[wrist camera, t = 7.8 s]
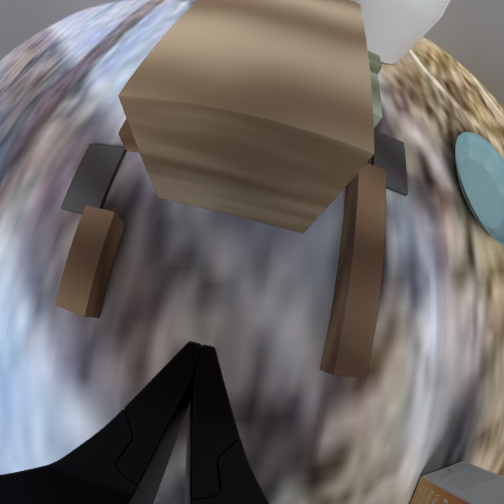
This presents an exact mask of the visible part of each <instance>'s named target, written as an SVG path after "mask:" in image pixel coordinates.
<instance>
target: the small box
mask: <svg viewBox="0 0 504 504" xmlns="http://www.w3.org/2000/svg"><path fill="white" fill-rule="evenodd" d="M410 504H504V476H501V475H498V474H495V473H492V472H490V471H487V470H485V469H482V468H479V467H477V466H474V465H472V464H469V463H467V462H464V461H461V462H458V463H456V464H453V465H451V466H448V467H446V468H443V469H440V470H437V471H435V472H432V473H429V474H426V475H422V476H421V477H420V480H419V483H418V485H417V488H416V491H415V493H414V496H413V498H412V500H411V502H410Z"/></svg>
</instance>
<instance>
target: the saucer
mask: <svg viewBox="0 0 504 504" xmlns="http://www.w3.org/2000/svg"><path fill="white" fill-rule="evenodd" d="M455 162H456V170H457V176H458V180H459V184H460V187H461V190H462V193H463V196H464V198H465V201H466V203H467V205H468V207H469V209H470V211H471V212H472V214H473V216H474V217H475V219H476V220H477V221H478V223H479V224H480V225H481V227H482V228H483V229H484V230H485V231H486V232H487V233H488V234H489V235H490V236H491V237H492V238H493V239H495V240H496V241H497V242H498V243H500V244H501V245H503V246H504V160H503V158H502V157H501V156H500V154H499V153H498V152H497V150H496V149H495V148H494V147H493V146H492V145H491V144H490V143H489V142H488V141H486V140H485V139H484V138H482V137H481V136H479V135H477V134H475V133H472V132H463V133H461V134H460V135H459V136H458V138H457V140H456V145H455Z"/></svg>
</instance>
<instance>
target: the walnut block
mask: <svg viewBox="0 0 504 504" xmlns="http://www.w3.org/2000/svg"><path fill="white" fill-rule="evenodd" d="M118 96H119V99H120V101H121V104H122V107H123V110H124V113H125V115H126V118H127V121H128V123H129V126H130V129H131V131H132V134H133V137H134V139H135V142H136V144H137V147H138V149H139V152H140V155H141V157H142V160H143V162H144V164H145V167H146V169H147V172H148V174H149V177H150V179H151V181H152V184H153V186H154V189H155V191H156V193H157V196H158V198H162V199H167V200H171V201H175V202H180V203H184V204H188V205H193V206H197V207H201V208H205V209H209V210H213V211H218V212H222V213H226V214H230V215H234V216H238V217H242V218H246V219H250V220H254V221H258V222H262V223H265V224H269V225H273V226H277V227H281V228H285V229H288V230H292V231H296V232H300V233H304V232H305V231H306V230H307V228H308V227H309V226H310V225H311V224H312V223H313V222H314V221H315V220H316V219H317V218H318V216H319V215H320V214H321V213H322V212H323V211H324V210H325V209H326V208H327V207H328V205H329V204H330V203H331V202H332V201H333V200H334V199H335V198H336V197H337V195H338V194H339V193H340V192H341V191H342V190H343V189H344V188H345V187H346V185H347V184H348V183H349V182H350V181H351V180H352V179H353V178H354V176H355V175H356V174H357V173H358V172H359V171H360V170H361V169H362V167H363V166H364V165H365V164H366V163H367V162H368V161H369V159H370V158H371V157H372V156H373V155H374V119H373V101H372V87H371V76H370V66H369V58H368V50H367V42H366V36H365V29H364V23H363V18H362V12H361V7H360V4H358V3H355V2H352V1H350V0H198V1H197V2H196V3H194V4H193V5H192V6H191V7H190V8H189V9H188V10H187V11H186V12H185V13H184V14H183V16H182V17H181V18H180V19H179V20H178V21H177V22H176V23H175V24H174V25H173V26H172V27H171V28H170V29H169V31H168V32H167V33H166V34H165V35H164V36H163V37H162V39H161V40H160V41H159V42H158V43H157V44H156V46H155V47H154V48H153V49H152V51H151V52H150V53H149V54H148V55H147V57H146V58H145V59H144V61H143V62H142V63H141V64H140V66H139V67H138V68H137V70H136V71H135V72H134V74H133V75H132V77H131V78H130V79H129V81H128V82H127V84H126V85H125V86H124V88H123V89H122V91H121V92H120V94H119V95H118Z"/></svg>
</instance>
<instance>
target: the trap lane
mask: <svg viewBox="0 0 504 504" xmlns="http://www.w3.org/2000/svg"><path fill="white" fill-rule="evenodd" d="M368 58H369V66H370V76H371V87H372V101H373V119H374V128H375V126H376V125H377V124H378V122H379V121H380V120H381V119H382V107H381V98H380V90H379V83H378V76H377V74H378V72H379V71H380V69H381V67H382V65H381V60H380V56H379V55H377V54H375V53H372V52H370V51H368ZM118 134H119V136H120V138H121V140H122V143H123V145H124V147H125V148H121V147H114V146H106V145H98V144H90V145H89V146H88V148H87V150H86V152H85V154H84V156H83V158H82V160H81V162H80V165H79V167H78V169H77V171H76V173H75V175H74V177H73V180H72V182H71V184H70V186H69V189H68V191H67V194H66V196H65V198H64V201H63V203H62V206H61V208H62V209H64V210H68V211H72V212H76V213H81V214H82V216H81V219H80V221H79V224H78V227H77V230H76V233H75V236H74V239H73V242H72V245H71V248H70V251H69V255H68V258H67V261H66V265H65V268H64V272H63V276H62V280H61V283H60V287H59V292H58V296H57V300H56V306H59V307H61V308H64V309H66V310H69V311H71V312H74V313H76V314H79V315H82V316H84V317H95V318H99V316H100V312H101V307H102V303H103V299H104V295H105V291H106V287H107V283H108V279H109V276H110V272H111V268H112V265H113V261H114V258H115V255H116V251H117V248H118V245H119V242H120V238H121V235H122V232H123V229H124V226H125V223H124V222H123V221H122V220H121V219H120V217H119V216H118V215H117V214H116V213H115V212H114V211H109V210H105V209H101V208H102V206H103V203H104V200H105V198H106V195H107V193H108V190H109V188H110V186H111V183H112V181H113V178H114V176H115V174H116V171H117V169H118V167H119V165H120V162H121V160H122V158H123V156H124V154H125V152H126V150H127V151H134V152H139V149H138V147H137V144H136V142H135V139H134V137H133V134H132V131H131V129H130V126H129V123H128V121H127V118H126V120H125V122H124V124H123V126H122V127H121V129H120V131H119V133H118ZM386 189H389V190H392V191H394V192H397V193H399V194H402V195H405V196H406V195H407V194H408V189H407V172H406V159H405V148H404V143H403V142H401V141H399V140H397V139H394V138H392V137H390V136H387V135H385V134H383V133H380V132H378V131H375V130H374V155H373V156H372V165H371V164H368V163H366V164H365V165H364V166H363V167H362V169H361V170H360V171H359V172H358V173H357V174H356V175H355V176H354V178H353V179H352V180H351V181H350V182H349V183H348V184H347V185H346V197H345V209H344V220H343V230H342V239H341V248H340V256H339V264H338V271H337V279H336V285H335V292H334V298H333V305H332V311H331V317H330V322H329V328H328V333H327V338H326V344H325V349H324V354H323V358H322V363H321V368H320V370H323V371H325V372H327V373H330V374H332V375H340V376H351V377H363V378H366V375H367V371H368V366H369V361H370V356H371V351H372V345H373V339H374V333H375V327H376V321H377V314H378V306H379V298H380V290H381V280H382V270H383V258H384V243H385V221H386Z"/></svg>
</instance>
